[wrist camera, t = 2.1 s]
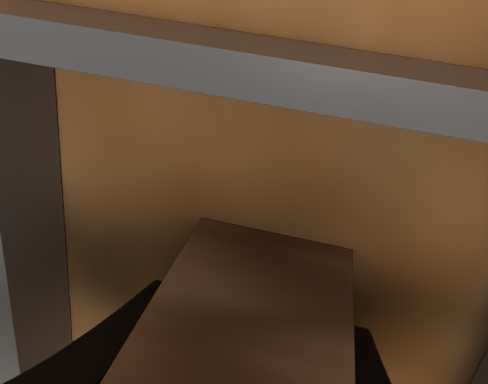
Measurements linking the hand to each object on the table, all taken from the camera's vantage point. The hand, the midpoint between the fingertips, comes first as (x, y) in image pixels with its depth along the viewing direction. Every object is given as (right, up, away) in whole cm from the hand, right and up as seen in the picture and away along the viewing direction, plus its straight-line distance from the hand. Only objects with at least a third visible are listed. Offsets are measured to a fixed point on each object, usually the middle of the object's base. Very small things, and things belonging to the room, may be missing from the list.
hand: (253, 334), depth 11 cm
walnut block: (0, +1, +1) cm, 2 cm away
